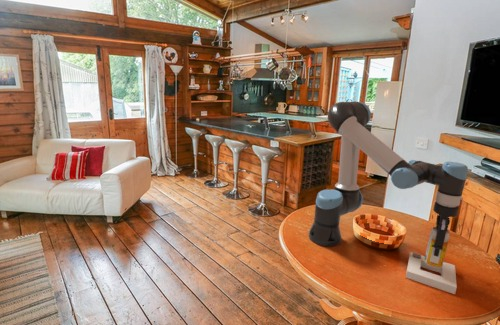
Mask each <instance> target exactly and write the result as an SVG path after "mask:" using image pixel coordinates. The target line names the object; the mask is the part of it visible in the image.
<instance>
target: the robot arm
mask: <svg viewBox="0 0 500 325" xmlns="http://www.w3.org/2000/svg"><path fill="white" fill-rule="evenodd" d="M371 112H372V111H371V109H370V108H369V107H368V105H367V104H366V103H364V102H360V101H339V102H336V103H335V104H332V106H330V108H329V110H328V112H327V121H328V123H329V125H330V126H331V128H332V129H333V130H334V131H335V132H336V133H337V134H338V135H340V136H341V139H340V154H339V166H338V169H339V170H338V179H337V180H338V181H337V182H336V183H335V184H334V189H332V188H331V189H323V190H320V191H318V193H317V195H316V199H315V206H314V207H315V209H314V218H313V223H312V225H311V227H310V229H309V232H308V238H309V240H310V241H312V242H313V243H314V244H316V245H319V246H322V247H335V246H338V245H339V244H341V242H342V234H341V230H340V220H341V217H342V216H344V215H347V214H349V213H353V212H355V211H357V210H359V209H360V208H361V207H362V204H363V203H364V202H363V201H364V195H363V193H362V191H361V190H360V189H361V188H360V186H359V185H358V184H357V181H358V173H359V171H358V169H359V161H360V151H362V152H363V153H364V154H365V155H367V157H368V158H370V159H371V160H372V161H373V162H375V163H376V165H378V166H379V167H380V168H381V169H383V171H385V172H386V173H387V174H388V175H389V176H390V180H391V182H392V184H393V186H394V187H396V188H398V189H399V190H407V189H411V188H414V187H416V186H418V185H421V184H423V183H427V184H431V185H434V186H437V191H436V195H435V200H434V205H433V209H432V210H433V212H434V213H435V214H437V216H436V223H435V225H436V226H435V227H436V229H437V234H436V239H435V243H434V245H432V247H433V249H432V254H431V258H430V262H434V263H437V264H438V262H439V258H440V254H441V250H442V249H443V243H444V239H445V235H446V231H447V230H448V228H449V225H450V223H451V219H450V218H455V217H457V216H458V213H459V206H460V204H461V201H463V200H464V198H463V196H462V195H463V192H464V188H465V184H466V181H467V179H468V172H469V171H468V170H469V168H468V166H467V165H466V164H464V163H461V162H457V161H445V162H443V164H442V165H440V164H435V163H430V162H426V161H423V160H417V159H416V160H414V159H411V160H409V161H408V162H407V160H405V159H404V158H403V157H401V156H400V155H399V154H397V153H396V151H394V150H393V149H392V148H390V146H388V145H386V143H384V142H383V141H382V140H380V138H378V137H377V136H376V135H374V134H373V133H372V132H371V131H369V129H367V128H366V125H367V124H369V122H370V120H371V118H372V117H371V116H372V113H371Z"/></svg>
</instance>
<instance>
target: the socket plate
mask: <svg viewBox="0 0 500 325" xmlns="http://www.w3.org/2000/svg"><path fill="white" fill-rule="evenodd" d="M424 259H425V255H422V254H419V253H415V252H412V251H411V252H409V257H408V261H407V262H408V263H407V267H406V273H405V274H406V275H405V278H407V279H409V280H411V281H414V282H417V283H421V284H423V285H426V286H428V287H433V288H435V289H438V290H440V291H444V292H447V293H450V294H452V295H456V292H457V288H458V286H457V276H456V265H455V264H452V263H448V262H445V261H443V265H442V267H440V268H433V267H430V266H428V265H427V264H426V262H425V261H424ZM421 268H424V269H426V270H430V271H433V272H436V273H439V274H440V275H438V274H435V273H433V272H429V271H426V270H423V269H421Z"/></svg>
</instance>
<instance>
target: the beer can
mask: <svg viewBox="0 0 500 325" xmlns="http://www.w3.org/2000/svg"><path fill="white" fill-rule="evenodd" d="M429 232H430V234H429V238H428V241H427V242H428V243H427V246H426V251H425V255H424V256H425V259H424V261H425V262H426V264H427V265H428V266H430V267H433V268H440V267H442V265H443V262H445V260H444V259H445V256H446V252H447V248H448V244H449V240H450V231H449V230H448V229H447V231H446V235H445V239H444V243H443V249H442V250H441V254H440V258H439V262H438V264H437V263H434V262H430V258H431V254H432V249H433V247H432V245H434V243H435V239H436V234H437V229H436V226H433V227H432V228H431V230H430V231H429Z"/></svg>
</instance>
